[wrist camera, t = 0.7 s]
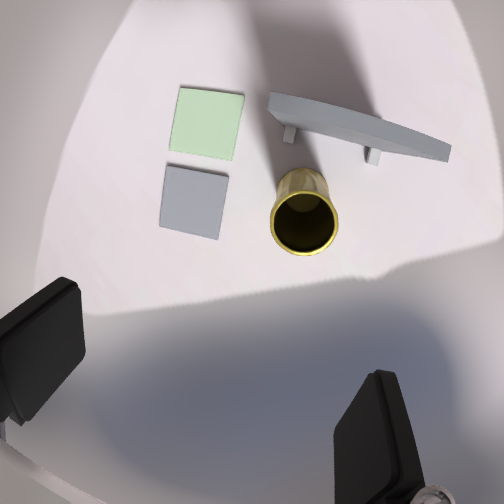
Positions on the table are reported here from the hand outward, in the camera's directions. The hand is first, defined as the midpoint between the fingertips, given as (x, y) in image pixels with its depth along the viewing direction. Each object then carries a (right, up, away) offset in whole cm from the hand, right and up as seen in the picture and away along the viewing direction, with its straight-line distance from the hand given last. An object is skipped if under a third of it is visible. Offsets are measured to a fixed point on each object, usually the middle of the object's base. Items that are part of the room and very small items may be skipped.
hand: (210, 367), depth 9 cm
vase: (+7, +10, +28) cm, 31 cm away
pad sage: (-4, +19, +27) cm, 33 cm away
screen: (+11, +17, +25) cm, 32 cm away
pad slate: (-6, +10, +30) cm, 32 cm away
